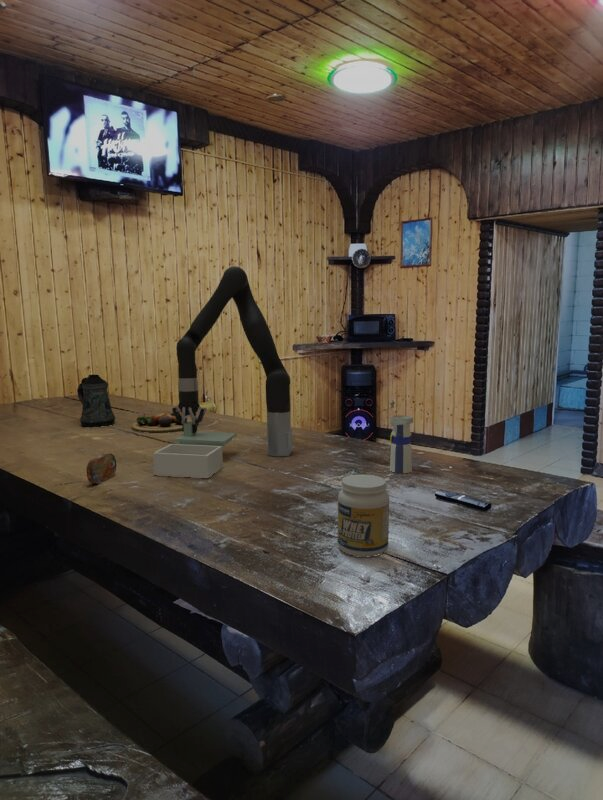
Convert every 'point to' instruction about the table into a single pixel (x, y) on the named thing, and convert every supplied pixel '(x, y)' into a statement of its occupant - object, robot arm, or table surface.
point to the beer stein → (95, 402)
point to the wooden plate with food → (159, 423)
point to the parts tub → (188, 461)
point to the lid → (203, 437)
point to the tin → (101, 468)
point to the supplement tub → (363, 515)
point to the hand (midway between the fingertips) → (190, 432)
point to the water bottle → (400, 443)
